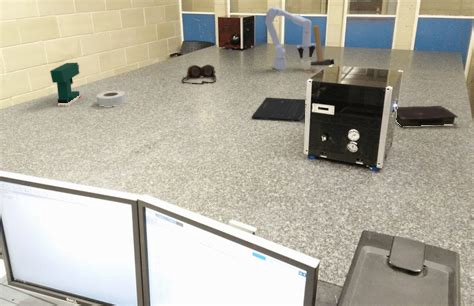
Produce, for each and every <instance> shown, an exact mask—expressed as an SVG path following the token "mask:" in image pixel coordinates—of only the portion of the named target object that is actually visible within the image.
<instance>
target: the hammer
mask: <svg viewBox="0 0 474 306" xmlns="http://www.w3.org/2000/svg"><path fill="white" fill-rule="evenodd" d="M312 30H313V36H314V37H313V38H314V43H315V44H316V46H315V52H316V59H317V60H315V61H311V66H328V65H330V66H332V65H335V59H334V58H332V59H329V58H327V59H325V58H324V56H323V50H322V49H323V48H322V43H321V42H322V41H321V33H320V27H319V25H313V26H312ZM328 67H329V66H328Z"/></svg>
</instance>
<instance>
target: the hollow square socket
mask: <svg viewBox="0 0 474 306" xmlns="http://www.w3.org/2000/svg"><path fill="white" fill-rule="evenodd" d="M311 62H312V61H311V60H310V59H302V60H300V68H301V69H303V70H308V69H310V67H311V68H312V65H311Z"/></svg>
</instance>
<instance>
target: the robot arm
mask: <svg viewBox="0 0 474 306" xmlns="http://www.w3.org/2000/svg"><path fill="white" fill-rule="evenodd" d="M265 16H266V17H265V22H264V23H265V25H266V28H267V31H268V33H269V36H270V37H271V41H272V44H273V46H274V50H275V57H274V58H273V65H272V66H273V68H272V70H273V71H275V72H280V71H281V70H286V64H287V63H286V62H287V61H286V59H287V58H286V56H285V55H286V53H287V51H286V49H285V48H284V47H283V44H282V43H281V41H280V38H279V35H278V32H277V30H276V28H275V24H274V23H273V22H274V20H275V18H276V17H279V16H281V17H285V18H287V19H289V20H291V21H292V23H293V24H295V25H297V26H299V27H302V28H303V29H302V40H301V41H302V42H301V44H296V49H297V52H298V55H299V58H300V59H303V56H304V51H305V50H304V49H305V48H308V52H309V54H308V57H309V58H313V54H314V51H316V44H315V42H314V43H313V42H312V21H311V20H310V19H309V18H306V17H303V16H301V14H295V15H294V14H292V13H290V12H288V11H287V10H284V9H282V8H280V7H276V6H271V7H270V8H268V10H267V12H266V15H265Z"/></svg>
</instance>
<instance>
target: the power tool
mask: <svg viewBox="0 0 474 306" xmlns="http://www.w3.org/2000/svg"><path fill="white" fill-rule="evenodd" d="M49 73H50V77H51V83H56V87H57V95H58V96H57V97H58V99H57V104H58V103H68V102H70V101H71V100H73V99H74V98H76V97H77V96H79V95H81V94H80V91H78V90H76V91H75V90H73V91H72V85H73V84H74V80H73V78H74V77H76V76H77V75H79V74H80V64H78V62H65V63H64V64H61V65H59V66H58V67H55V68H54V69H51V70H50V71H49Z"/></svg>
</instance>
